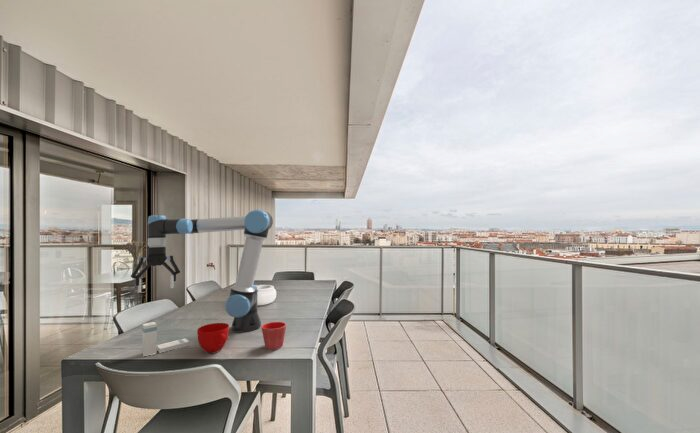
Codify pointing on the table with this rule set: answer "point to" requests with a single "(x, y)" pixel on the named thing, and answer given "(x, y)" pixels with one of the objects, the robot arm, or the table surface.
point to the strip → (173, 345)
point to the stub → (149, 338)
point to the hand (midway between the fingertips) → (156, 290)
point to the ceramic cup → (213, 336)
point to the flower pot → (273, 335)
